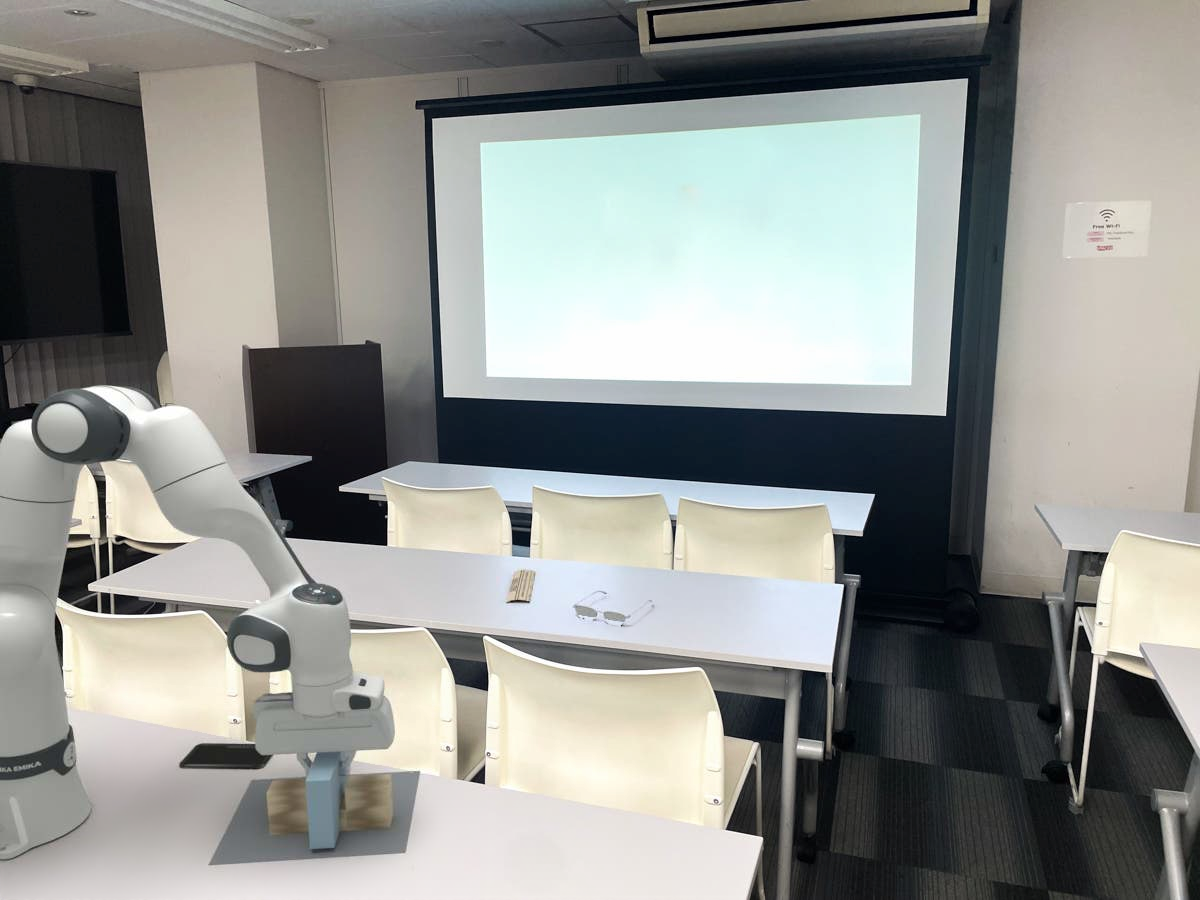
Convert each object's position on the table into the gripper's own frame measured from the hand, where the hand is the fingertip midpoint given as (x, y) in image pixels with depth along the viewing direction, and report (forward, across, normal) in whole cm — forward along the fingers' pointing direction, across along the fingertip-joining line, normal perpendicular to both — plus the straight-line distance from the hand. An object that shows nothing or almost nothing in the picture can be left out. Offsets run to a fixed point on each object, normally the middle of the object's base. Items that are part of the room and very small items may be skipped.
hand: (328, 775), depth 136 cm
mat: (+9, -2, +3) cm, 9 cm away
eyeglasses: (+9, +54, +85) cm, 101 cm away
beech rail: (+8, 0, 0) cm, 8 cm away
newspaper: (+10, +30, +104) cm, 109 cm away
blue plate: (+8, 0, 0) cm, 8 cm away
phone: (+10, -22, +22) cm, 32 cm away
